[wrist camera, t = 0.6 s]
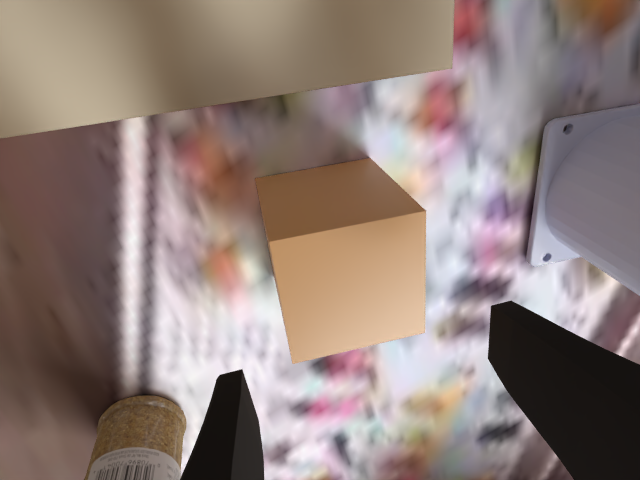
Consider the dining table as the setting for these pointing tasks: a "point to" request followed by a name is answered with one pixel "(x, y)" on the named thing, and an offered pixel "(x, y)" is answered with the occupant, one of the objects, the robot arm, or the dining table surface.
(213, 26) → the flat beige rectangular board
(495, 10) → the dining table surface
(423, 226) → the tan cardboard cube
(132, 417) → the sprinkles bottle
